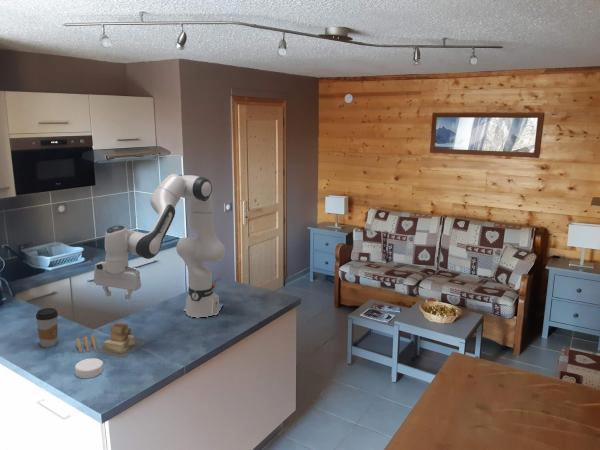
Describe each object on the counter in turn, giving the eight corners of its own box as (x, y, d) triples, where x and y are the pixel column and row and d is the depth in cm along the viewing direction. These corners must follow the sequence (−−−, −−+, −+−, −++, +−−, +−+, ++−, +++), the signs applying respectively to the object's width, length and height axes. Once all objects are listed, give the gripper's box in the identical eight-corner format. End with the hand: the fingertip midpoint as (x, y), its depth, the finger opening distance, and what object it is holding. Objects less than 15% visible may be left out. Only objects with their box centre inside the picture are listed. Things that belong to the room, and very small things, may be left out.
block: (122, 336, 218) (121, 327, 217) (130, 336, 218) (130, 328, 217) (118, 340, 214) (118, 331, 213) (127, 340, 214) (127, 332, 213)
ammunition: (75, 336, 206) (78, 344, 199) (94, 333, 210) (97, 341, 203) (75, 347, 207) (78, 355, 200) (94, 344, 211) (98, 351, 204)
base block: (118, 341, 213) (118, 332, 212) (134, 344, 211) (134, 335, 210) (103, 351, 203) (103, 342, 202) (120, 354, 201) (120, 345, 200)
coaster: (89, 381, 182) (88, 372, 181) (69, 375, 185) (68, 366, 185) (109, 369, 191) (108, 361, 190) (89, 363, 194) (89, 355, 194)
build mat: (121, 336, 219) (121, 334, 219) (148, 341, 216) (148, 339, 215) (94, 353, 202) (94, 352, 202) (123, 359, 199) (123, 357, 198)
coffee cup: (48, 350, 203) (46, 316, 200) (33, 346, 206) (30, 312, 203) (64, 342, 211) (62, 309, 208) (49, 338, 213) (47, 306, 210)
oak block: (118, 335, 209) (117, 322, 208) (128, 337, 208) (127, 324, 207) (110, 340, 204) (110, 327, 203) (121, 342, 203) (120, 328, 202)
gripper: (143, 266, 200) (144, 298, 203) (101, 260, 205) (102, 291, 208) (134, 270, 194) (135, 303, 197) (90, 264, 199) (92, 296, 202)
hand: (118, 297), depth 203 cm, fingers open, 8 cm apart
